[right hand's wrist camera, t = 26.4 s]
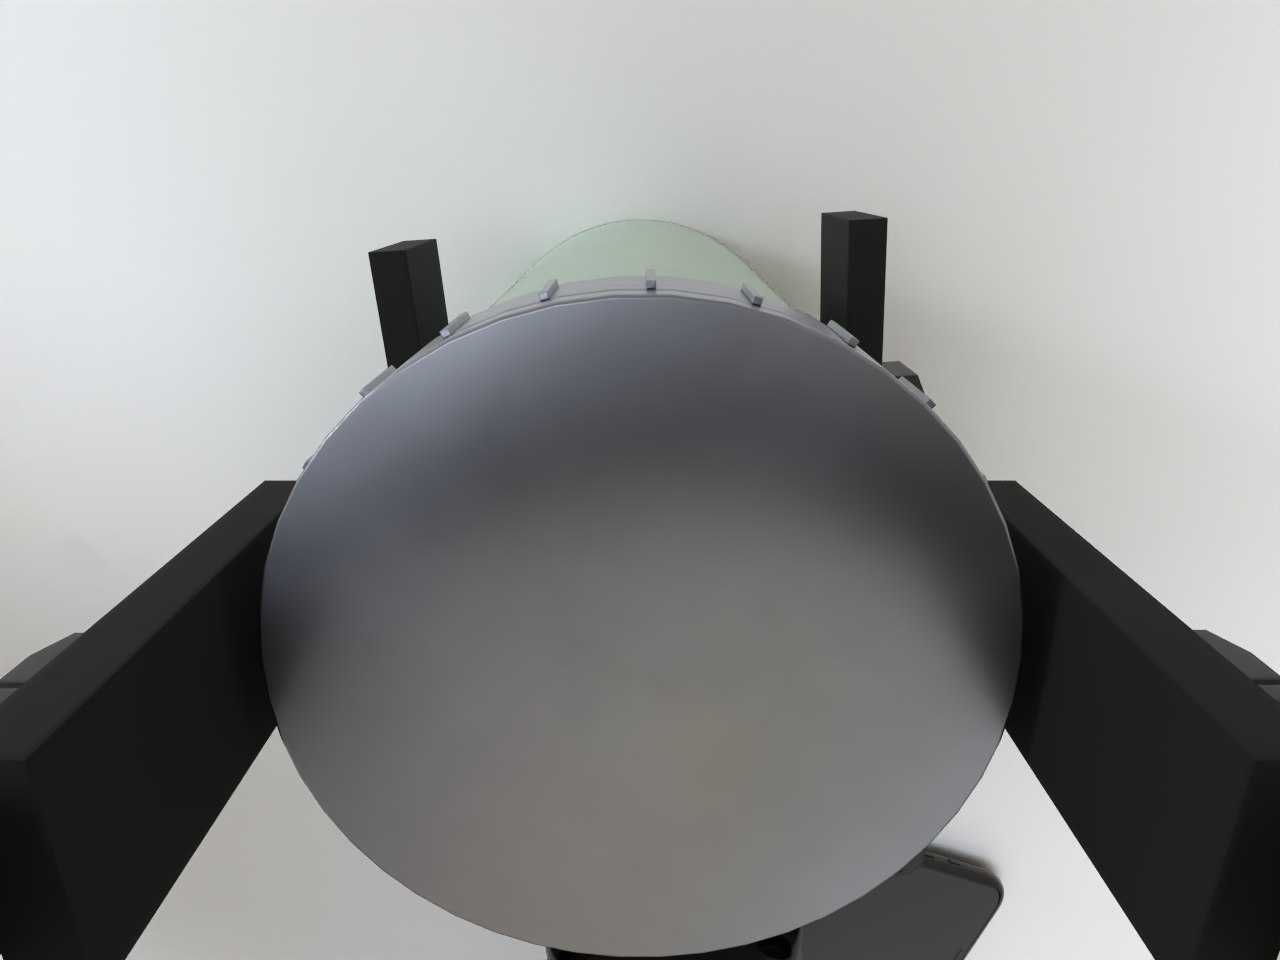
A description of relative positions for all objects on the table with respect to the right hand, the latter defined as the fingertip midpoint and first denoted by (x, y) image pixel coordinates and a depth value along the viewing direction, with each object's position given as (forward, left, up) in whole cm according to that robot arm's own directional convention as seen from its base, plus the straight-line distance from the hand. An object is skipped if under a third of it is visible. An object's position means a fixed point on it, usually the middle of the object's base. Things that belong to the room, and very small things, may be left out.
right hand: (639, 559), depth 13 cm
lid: (0, 0, +3) cm, 3 cm away
